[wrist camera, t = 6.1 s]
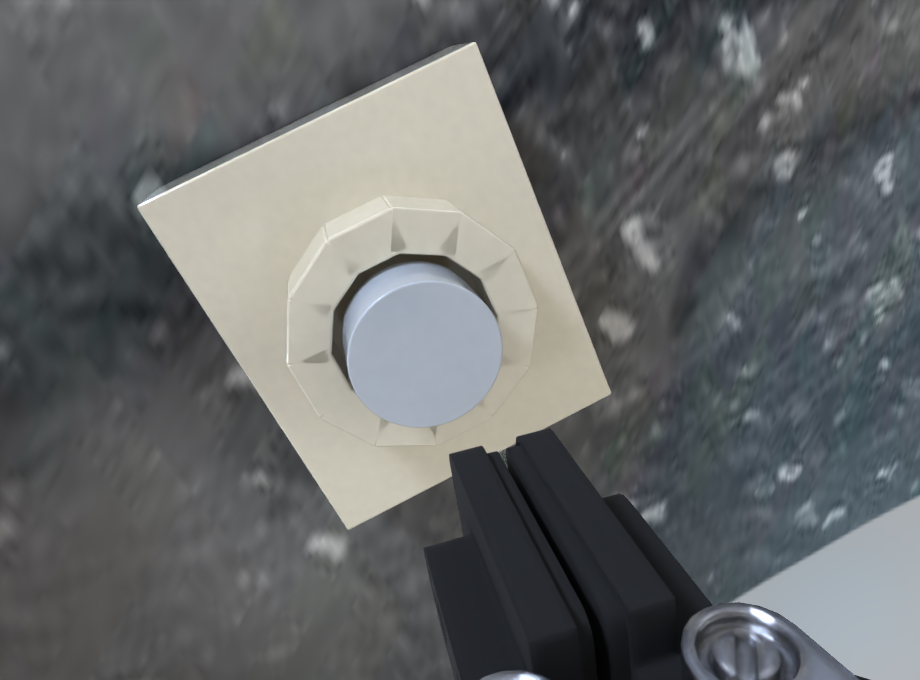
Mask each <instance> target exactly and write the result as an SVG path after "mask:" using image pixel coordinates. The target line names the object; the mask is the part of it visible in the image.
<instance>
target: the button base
mask: <svg viewBox="0 0 920 680" xmlns="http://www.w3.org/2000/svg"><path fill="white" fill-rule="evenodd" d="M137 209H138V210H139V212H140V213H141V215H142V217H143V218H144V220H145V221H146V223H147V224H148V226H149V227H150V229H151V230H152V232H153V233H154V235H155V236H156V238H157V239H158V241H159V242H160V244H161V246H162V247H163V249H164V250H165V252H166V253H167V255H168V256H169V258H170V259H171V261H172V262H173V264H174V265H175V267H176V268H177V270H178V271H179V273H180V275H181V276H182V278H183V279H184V281H185V282H186V284H187V285H188V287H189V288H190V290H191V291H192V293H193V294H194V296H195V297H196V299H197V300H198V302H199V304H200V305H201V307H202V308H203V310H204V311H205V313H206V314H207V316H208V317H209V319H210V320H211V322H212V323H213V325H214V326H215V328H216V329H217V331H218V333H219V334H220V336H221V337H222V339H223V340H224V342H225V343H226V345H227V346H228V348H229V349H230V351H231V352H232V354H233V355H234V357H235V358H236V360H237V362H238V363H239V365H240V366H241V368H242V369H243V371H244V372H245V374H246V375H247V377H248V378H249V380H250V381H251V383H252V384H253V386H254V387H255V389H256V391H257V392H258V394H259V395H260V397H261V398H262V400H263V401H264V403H265V404H266V406H267V407H268V409H269V410H270V412H271V413H272V415H273V416H274V418H275V420H276V421H277V423H278V424H279V426H280V427H281V429H282V430H283V432H284V433H285V435H286V436H287V438H288V439H289V441H290V442H291V444H292V445H293V447H294V448H295V450H296V452H297V453H298V455H299V456H300V458H301V459H302V461H303V462H304V464H305V465H306V467H307V468H308V470H309V471H310V473H311V474H312V476H313V477H314V479H315V481H316V482H317V484H318V485H319V487H320V488H321V490H322V491H323V493H324V494H325V496H326V497H327V499H328V500H329V502H330V503H331V505H332V506H333V508H334V510H335V511H336V513H337V514H338V516H339V517H340V519H341V520H342V522H343V523H344V525H345V526H346V528H347V529H348V530H349V529H352V528H354V527H355V526H357V525H359V524H361V523H363V522H365V521H367V520H369V519H371V518H373V517H375V516H377V515H379V514H381V513H382V512H384V511H386V510H388V509H390V508H392V507H394V506H396V505H398V504H400V503H402V502H404V501H406V500H408V499H409V498H411V497H413V496H415V495H417V494H419V493H421V492H423V491H425V490H427V489H429V488H431V487H433V486H435V485H436V484H438V483H440V482H442V481H444V480H446V479H448V478H450V477H452V472H451V467H450V461H449V454H451V453H455V452H458V451H462V450H466V449H470V448H474V447H478V446H483V447H484V449H485V451H486V453H491V452H495V451H498V452H500V451H502V450H504V449H506V448H508V447H510V446H512V445H514V444H516V437H517V436H521V435H524V434H528V433H532V432H536V431H540V430H543V429H545V428H546V427H548V426H550V425H552V424H554V423H556V422H558V421H560V420H562V419H564V418H566V417H568V416H570V415H572V414H573V413H575V412H577V411H579V410H581V409H583V408H585V407H587V406H589V405H591V404H593V403H595V402H597V401H599V400H600V399H602V398H604V397H606V396H608V395H610V394H611V391H610V388H609V385H608V383H607V380H606V378H605V375H604V372H603V370H602V367H601V365H600V362H599V359H598V357H597V354H596V352H595V349H594V346H593V344H592V341H591V339H590V336H589V334H588V331H587V328H586V326H585V323H584V321H583V318H582V315H581V313H580V310H579V308H578V305H577V302H576V300H575V297H574V295H573V292H572V289H571V287H570V284H569V282H568V279H567V276H566V274H565V271H564V269H563V266H562V263H561V261H560V258H559V256H558V253H557V250H556V248H555V245H554V243H553V240H552V238H551V235H550V232H549V230H548V227H547V225H546V222H545V219H544V217H543V214H542V212H541V209H540V206H539V204H538V201H537V199H536V196H535V193H534V191H533V188H532V186H531V183H530V180H529V178H528V175H527V173H526V170H525V167H524V165H523V162H522V160H521V157H520V154H519V152H518V149H517V147H516V144H515V142H514V139H513V136H512V134H511V131H510V129H509V126H508V123H507V121H506V118H505V116H504V113H503V110H502V108H501V105H500V103H499V100H498V97H497V95H496V92H495V90H494V87H493V84H492V82H491V79H490V77H489V74H488V71H487V69H486V66H485V64H484V61H483V58H482V56H481V53H480V51H479V48H478V46H477V43H476V42H471V43H466V44H460V45H455V46H450V47H448V48H446V49H444V50H442V51H440V52H438V53H436V54H434V55H432V56H430V57H428V58H426V59H423V60H421V61H419V62H417V63H415V64H413V65H411V66H409V67H407V68H405V69H403V70H401V71H399V72H397V73H395V74H393V75H390V76H388V77H386V78H384V79H382V80H380V81H378V82H376V83H374V84H372V85H370V86H368V87H366V88H364V89H362V90H360V91H358V92H355V93H353V94H351V95H349V96H347V97H345V98H343V99H341V100H339V101H337V102H335V103H333V104H331V105H329V106H327V107H325V108H322V109H320V110H318V111H316V112H314V113H312V114H310V115H308V116H306V117H304V118H302V119H300V120H298V121H296V122H294V123H292V124H289V125H287V126H285V127H283V128H281V129H279V130H277V131H275V132H273V133H271V134H269V135H267V136H265V137H263V138H261V139H259V140H257V141H254V142H252V143H250V144H248V145H246V146H244V147H242V148H240V149H238V150H236V151H234V152H232V153H230V154H228V155H226V156H224V157H221V158H219V159H217V160H215V161H213V162H211V163H209V164H207V165H205V166H203V167H201V168H199V169H197V170H195V171H193V172H191V173H188V174H186V175H184V176H182V177H180V178H178V179H176V180H174V181H172V182H170V183H168V184H166V185H164V186H162V187H160V188H158V189H156V190H155V191H154V192H153V193H152V194H150V195H149V196H148V197H147V198H146V199H144V200H143V201H142V202H141V203H140V204H139V205H138V206H137ZM408 261H425V262H431V263H435V264H439V265H442V266H444V267H447V268H449V269H450V270H452V271H454V272H456V273H457V274H458V275H460V276H461V277H462V278H463V279H464V280H465V281H466V282H467V283H468V284H469V285H470V286H471V287H472V289H473V290H474V291H475V292H476V293H477V294H478V295H479V297H480V298H481V299H482V300H483V301H484V302H485V304H486V305H487V306H488V307H489V309H490V310H491V311H492V313H493V315H494V316H495V318H496V320H497V323H498V325H499V328H500V331H501V336H502V344H503V353H502V361H501V366H500V369H499V372H498V375H497V378H496V380H495V382H494V384H493V386H492V387H491V389H490V390H489V392H488V393H487V395H486V396H485V397H484V398H483V399H482V401H481V402H480V403H479V404H477V405H476V406H475V407H474V408H473V409H472V410H470V411H469V412H468V413H466V414H465V415H463V416H461V417H459V418H458V419H455V420H453V421H451V422H448V423H445V424H442V425H438V426H433V427H424V428H416V427H406V426H401V425H397V424H394V423H391V422H389V421H387V420H384V419H382V418H381V417H379V416H378V415H376V414H374V413H373V412H372V411H371V410H370V409H368V408H367V407H366V406H365V405H364V403H363V402H362V401H361V400H360V398H359V397H358V396H357V394H356V392H355V390H354V388H353V386H352V384H351V381H350V378H349V375H348V369H347V364H346V359H345V354H344V349H343V343H342V321H343V317H344V313H345V310H346V308H347V305H348V303H349V301H350V299H351V298H352V296H353V294H354V293H355V292H356V290H357V289H358V288H359V287H360V286H361V285H362V284H363V283H364V282H365V281H366V280H367V279H368V278H369V277H371V276H372V275H373V274H375V273H376V272H378V271H380V270H382V269H384V268H386V267H388V266H391V265H394V264H398V263H401V262H408Z"/></svg>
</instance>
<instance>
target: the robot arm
mask: <svg viewBox="0 0 920 680" xmlns="http://www.w3.org/2000/svg"><path fill="white" fill-rule="evenodd" d="M506 458H507V464H508V469H507V467H506V465H505V463H504V462H503V460H502V458H501V456H500V454H499V453H498V451H495V452H491V453H486V451H485V449H484V447H483V446H478V447H474V448H470V449H466V450H462V451H458V452H455V453H451V454H449V461H450V467H451V472H452V478H453V483H454V489H455V494H456V499H457V505H458V510H459V515H460V521H461V526H462V531H463V537H461V538H457V539H454V540H450V541H446V542H443V543H439V544H436V545H432V546H428V547H425V548H424V554H425V559H426V564H427V568H428V573H429V577H430V582H431V587H432V591H433V596H434V600H435V604H436V608H437V612H438V617H439V621H440V625H441V629H442V633H443V636H444V640H445V644H446V648H447V651H448V655H449V659H450V663H451V666H452V670H453V674H454V677H455V680H869V679H866V678H863V677H859V676H856V675H853V674H852V673H851V672H850V671H849V670H848V669H846V668H845V667H844V666H843V665H842V664H841V663H839V662H838V661H837V660H836V659H835V658H834V657H832V656H831V655H830V654H829V653H828V652H827V651H825V650H824V649H823V648H822V647H821V646H819V645H818V644H817V643H816V642H815V641H814V640H812V639H811V638H810V637H809V636H808V635H806V634H805V633H804V632H803V631H802V630H801V629H800V628H798V627H797V626H796V625H795V624H793V623H792V622H790V621H789V620H787V619H786V618H784V617H783V616H781V615H780V614H778V613H776V612H773V611H770V610H768V609H766V608H763V607H760V606H757V605H751V604H745V603H720V604H717V605H712V604H711V603H710V602H709V600H708V599H707V598H706V597H705V595H704V594H703V593H702V592H701V590H700V589H699V588H698V586H697V585H696V584H695V583H694V581H693V580H692V579H691V578H690V576H689V575H688V574H687V573H686V571H685V570H684V569H683V568H682V566H681V565H680V564H679V563H678V561H677V560H676V559H675V558H674V556H673V555H672V554H671V553H670V551H669V550H668V549H667V548H666V546H665V545H664V544H663V543H662V541H661V540H660V539H659V538H658V536H657V535H656V534H655V533H654V531H653V530H652V529H651V527H650V526H649V525H648V524H647V522H646V521H645V520H644V519H643V517H642V516H641V515H640V514H639V512H638V511H637V510H636V509H635V507H634V506H633V505H632V504H631V502H630V501H629V500H628V499H627V498H626V497H625V496H624V495H621V494H616V495H612V496H609V497H605V498H602V497H601V496H600V495H599V493H598V492H597V491H596V489H595V488H594V487H593V485H592V484H591V483H590V481H589V480H588V478H587V477H586V476H585V474H584V473H583V472H582V470H581V469H580V468H579V466H578V465H577V464H576V462H575V461H574V459H573V458H572V457H571V455H570V454H569V453H568V451H567V450H566V449H565V447H564V446H563V445H562V443H561V442H560V440H559V439H558V438H557V436H556V435H555V434H554V432H553V431H552V430H551V429H549V428H548V429H544V430H540V431H536V432H532V433H528V434H524V435H521V436H517V437H516V446H514V447H510V448H507V449H506Z"/></svg>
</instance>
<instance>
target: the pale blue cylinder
mask: <svg viewBox="0 0 920 680" xmlns="http://www.w3.org/2000/svg"><path fill="white" fill-rule="evenodd" d="M342 343H343V349H344V354H345V359H346V364H347V369H348V375H349V378H350V381H351V384H352V386H353V388H354V390H355V392H356V394H357V396H358V397H359V398H360V400H361V401H362V402H363V403H364V405H365V406H366V407H367V408H368V409H370V410H371V411H372V412H373V413H374V414H376V415H378V416H379V417H381V418H382V419H384V420H387V421H389V422H391V423H394V424H397V425H401V426H406V427H416V428H424V427H433V426H438V425H442V424H445V423H448V422H451V421H453V420H455V419H458V418H459V417H461V416H463V415H465V414H466V413H468V412H469V411H470V410H472V409H473V408H474V407H475V406H476V405H477V404H479V403H480V402H481V401H482V399H483V398H484V397H485V396H486V395H487V393H488V392H489V390H490V389H491V387H492V386H493V384H494V382H495V380H496V378H497V375H498V372H499V369H500V366H501V361H502V353H503V344H502V336H501V331H500V328H499V325H498V323H497V320H496V318H495V316H494V315H493V313H492V311H491V310H490V309H489V307H488V306H487V305H486V304H485V302H484V301H483V300H482V299H481V298H480V297H479V295H478V294H477V293H476V292H475V291H474V290H473V289H472V287H471V286H470V285H469V284H468V283H467V282H466V281H465V280H464V279H463V278H462V277H461V276H460V275H458V274H457V273H456V272H454V271H452V270H450V269H449V268H447V267H444V266H442V265H439V264H435V263H431V262H425V261H408V262H401V263H398V264H394V265H391V266H388V267H386V268H384V269H382V270H380V271H378V272H376V273H375V274H373V275H372V276H371V277H369V278H368V279H367V280H366V281H365V282H364V283H363V284H362V285H361V286H360V287H359V288H358V289H357V290H356V292H355V293H354V294H353V296H352V298H351V299H350V301H349V303H348V305H347V308H346V310H345V313H344V317H343V321H342Z"/></svg>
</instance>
